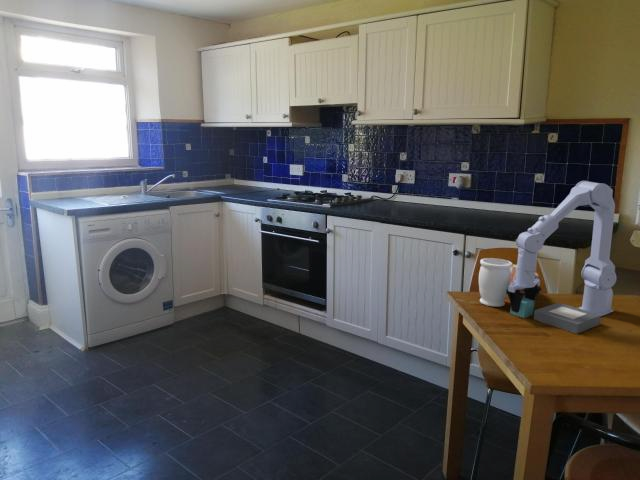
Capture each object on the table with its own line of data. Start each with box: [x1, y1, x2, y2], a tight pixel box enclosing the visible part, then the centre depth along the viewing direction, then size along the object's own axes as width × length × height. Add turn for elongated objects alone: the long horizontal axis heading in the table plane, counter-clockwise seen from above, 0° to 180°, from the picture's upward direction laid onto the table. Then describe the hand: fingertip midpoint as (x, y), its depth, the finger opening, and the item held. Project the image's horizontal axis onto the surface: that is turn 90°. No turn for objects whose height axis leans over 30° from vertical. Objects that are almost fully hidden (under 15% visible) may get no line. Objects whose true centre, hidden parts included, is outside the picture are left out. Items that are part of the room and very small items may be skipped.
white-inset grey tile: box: [533, 302, 602, 335], centre depth 159 cm, size 14×14×3 cm
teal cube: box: [509, 297, 534, 319], centre depth 165 cm, size 5×5×5 cm
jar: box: [478, 257, 513, 308], centre depth 174 cm, size 11×10×15 cm
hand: (521, 309), depth 165 cm, fingers open, 7 cm apart
